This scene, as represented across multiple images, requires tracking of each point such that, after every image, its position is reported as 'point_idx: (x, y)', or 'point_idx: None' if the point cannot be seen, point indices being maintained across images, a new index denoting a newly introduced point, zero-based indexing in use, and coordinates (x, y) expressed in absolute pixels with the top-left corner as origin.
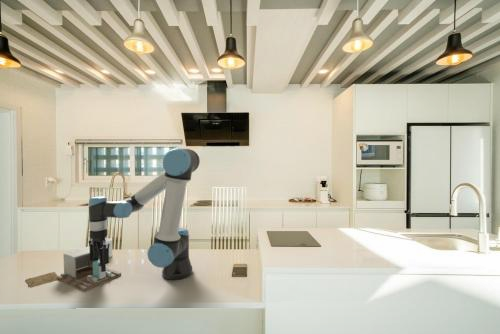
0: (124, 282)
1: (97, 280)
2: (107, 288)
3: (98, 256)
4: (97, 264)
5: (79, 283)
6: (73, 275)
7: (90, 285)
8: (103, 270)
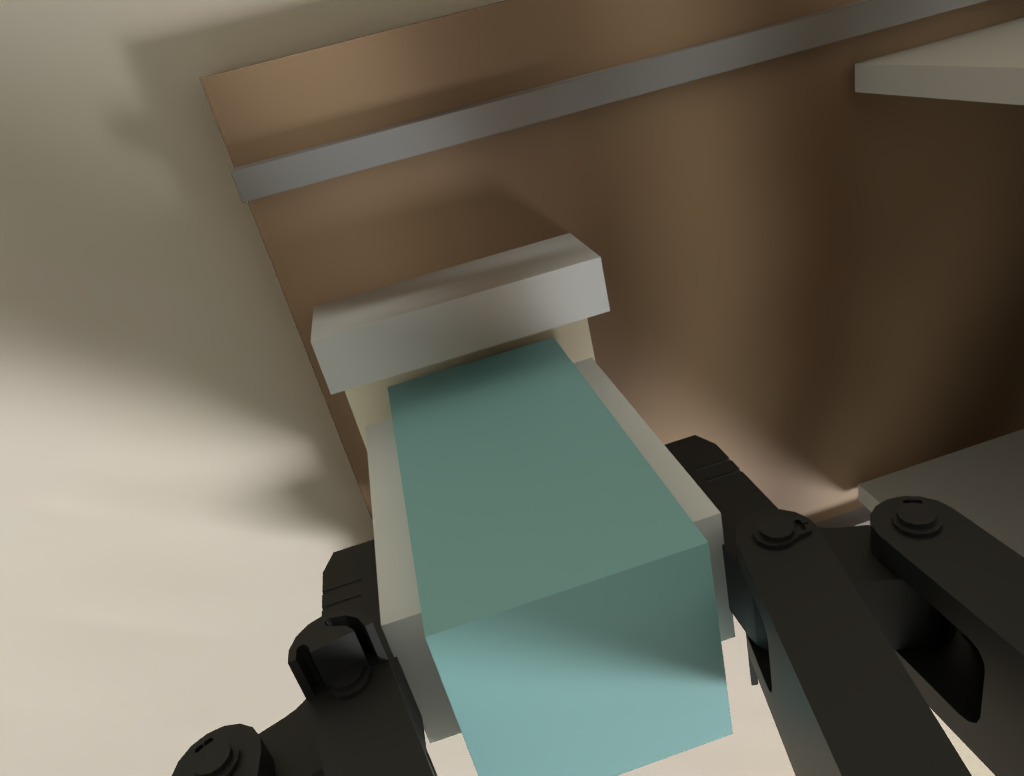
0: (125, 678)
1: (417, 377)
2: (44, 439)
3: (798, 768)
4: (427, 606)
5: (548, 69)
6: (940, 50)
7: (271, 219)
8: (330, 592)
